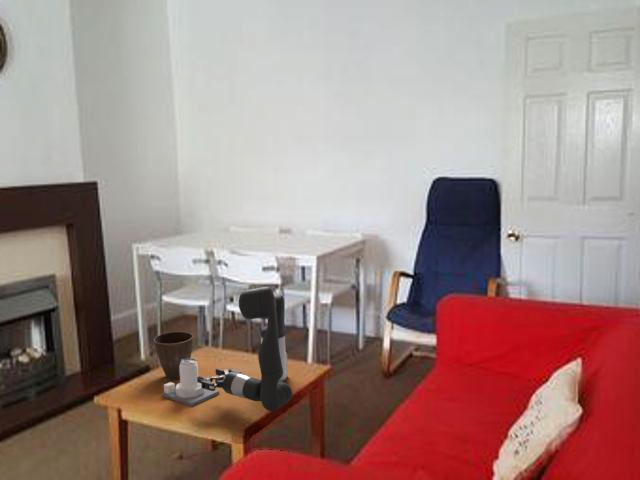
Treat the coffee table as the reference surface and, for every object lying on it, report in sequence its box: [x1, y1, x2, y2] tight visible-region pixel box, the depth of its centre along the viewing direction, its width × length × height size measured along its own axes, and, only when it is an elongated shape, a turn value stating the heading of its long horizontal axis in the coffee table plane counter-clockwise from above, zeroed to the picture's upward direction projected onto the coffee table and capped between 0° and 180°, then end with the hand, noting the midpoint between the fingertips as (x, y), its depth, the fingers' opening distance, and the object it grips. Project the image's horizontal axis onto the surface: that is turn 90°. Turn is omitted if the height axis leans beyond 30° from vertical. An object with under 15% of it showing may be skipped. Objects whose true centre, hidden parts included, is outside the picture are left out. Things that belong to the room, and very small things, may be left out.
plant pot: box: [153, 331, 194, 381], centre depth 242 cm, size 15×15×16 cm
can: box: [179, 358, 199, 390], centre depth 223 cm, size 6×6×12 cm
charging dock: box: [161, 381, 220, 407], centre depth 224 cm, size 13×16×4 cm
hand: (207, 375), depth 217 cm, fingers open, 8 cm apart
